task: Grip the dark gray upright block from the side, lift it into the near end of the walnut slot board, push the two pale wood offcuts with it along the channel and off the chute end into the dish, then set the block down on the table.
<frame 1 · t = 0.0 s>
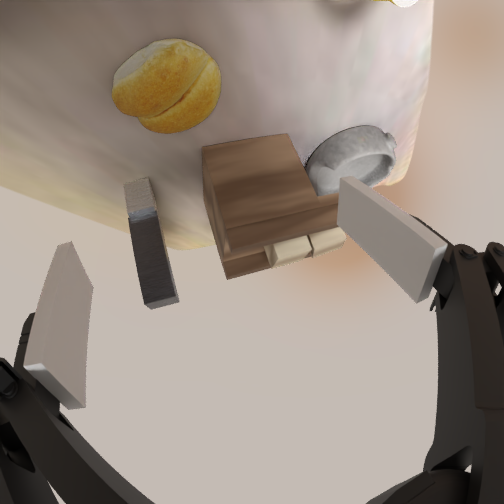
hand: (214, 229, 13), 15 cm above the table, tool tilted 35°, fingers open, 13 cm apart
dark gray upright block: (140, 192, 35), on the table
chip b: (319, 226, 36), point 10 cm above the table, touching slot board
slot board: (263, 165, 38), on the table
bread roll: (164, 78, 21), on the table
chip a: (282, 235, 35), point 10 cm above the table, touching slot board
dish: (344, 150, 41), on the table
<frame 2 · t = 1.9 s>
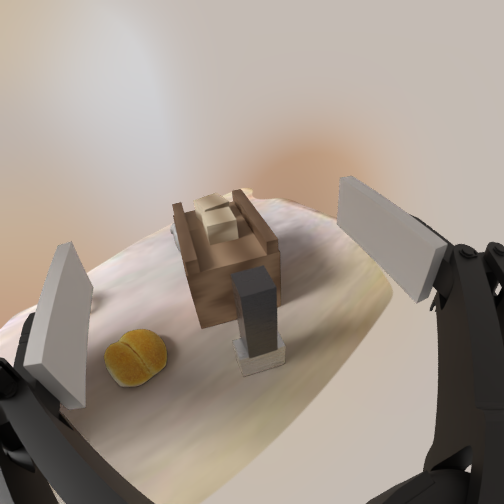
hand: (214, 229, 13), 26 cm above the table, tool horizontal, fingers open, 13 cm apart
dark gray upright block: (260, 361, 36), on the table
chip b: (213, 218, 46), point 10 cm above the table, touching slot board
slot board: (227, 282, 49), on the table
bread roll: (138, 363, 37), on the table
chip a: (220, 234, 42), point 10 cm above the table, touching slot board
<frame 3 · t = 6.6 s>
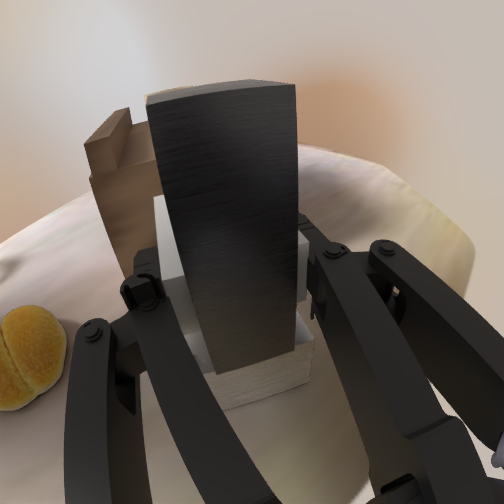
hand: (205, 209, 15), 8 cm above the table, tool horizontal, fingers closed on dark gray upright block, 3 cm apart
dark gray upright block: (251, 377, 15), on the table, touching gripper
slot board: (197, 231, 28), on the table
bread roll: (26, 369, 16), on the table
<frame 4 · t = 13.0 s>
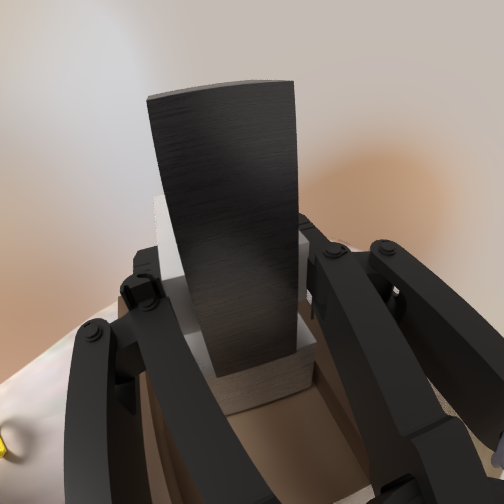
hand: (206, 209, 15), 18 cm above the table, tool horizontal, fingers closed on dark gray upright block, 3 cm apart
dark gray upright block: (252, 382, 15), point 10 cm above the table, touching chip a, gripper
slot board: (249, 441, 21), on the table
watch: (0, 444, 18), on the table
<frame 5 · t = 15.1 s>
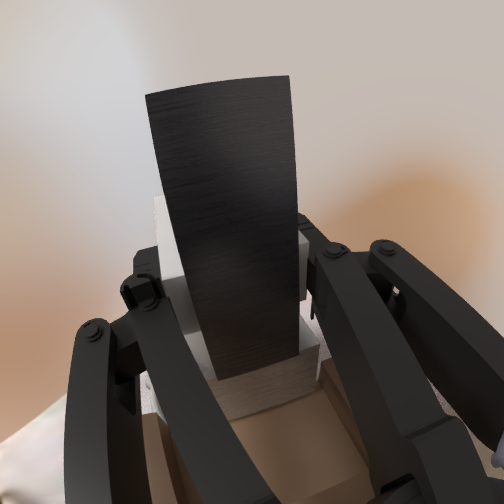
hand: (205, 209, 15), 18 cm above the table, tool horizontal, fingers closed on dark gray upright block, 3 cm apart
dark gray upright block: (255, 387, 15), point 10 cm above the table, touching gripper
dish: (238, 404, 25), on the table, touching chip b
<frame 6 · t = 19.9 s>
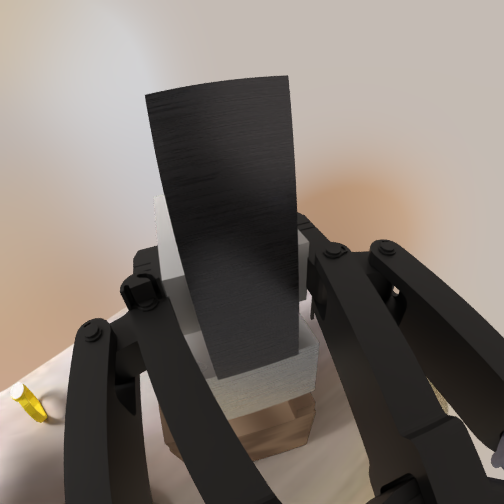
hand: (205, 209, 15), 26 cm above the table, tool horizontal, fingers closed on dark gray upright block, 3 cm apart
dark gray upright block: (255, 386, 15), point 19 cm above the table, touching gripper
slot board: (233, 402, 32), on the table
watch: (41, 412, 29), on the table
when the fingers open (8 cm above the table, at t = 24.2 s): dark gray upright block drops 1 cm, on the table.
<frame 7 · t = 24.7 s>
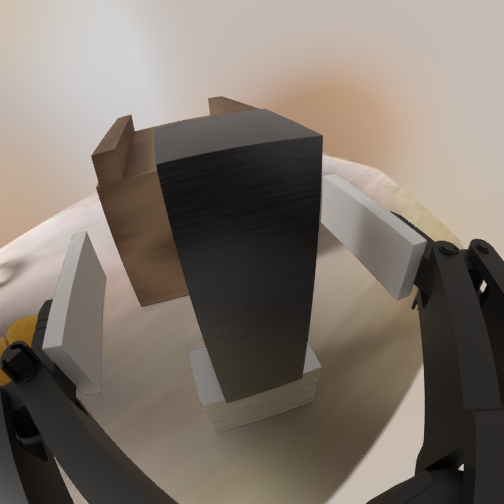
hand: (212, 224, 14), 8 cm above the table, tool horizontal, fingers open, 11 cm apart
dark gray upright block: (257, 396, 15), on the table
slot board: (197, 235, 29), on the table
bread roll: (31, 378, 16), on the table
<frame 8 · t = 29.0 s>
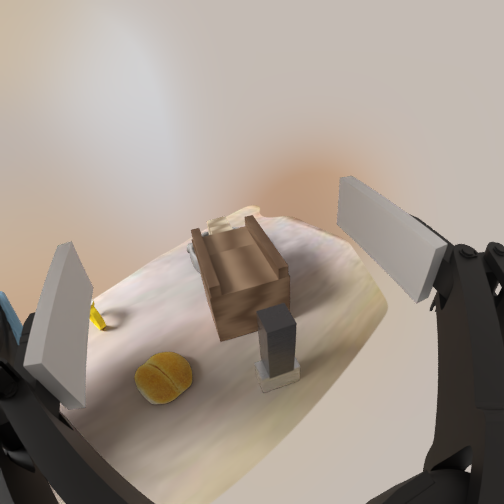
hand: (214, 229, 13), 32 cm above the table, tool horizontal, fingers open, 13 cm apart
dark gray upright block: (277, 378, 41), on the table
chip b: (224, 241, 58), point 7 cm above the table, tilted 90°, touching chip a, dish
slot board: (241, 299, 54), on the table
bread roll: (165, 382, 41), on the table
chip a: (220, 233, 60), point 7 cm above the table, tilted 90°, touching chip b, dish
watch: (99, 325, 51), on the table
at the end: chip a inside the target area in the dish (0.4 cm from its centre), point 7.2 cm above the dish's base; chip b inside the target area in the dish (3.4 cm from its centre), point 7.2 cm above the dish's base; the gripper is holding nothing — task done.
